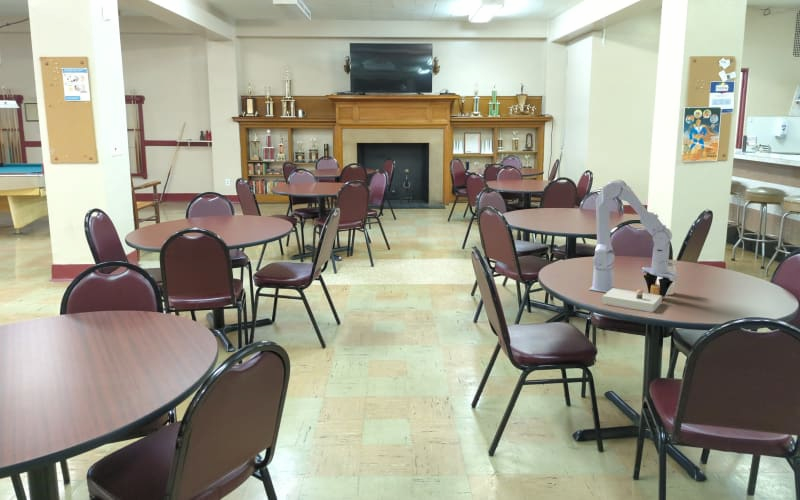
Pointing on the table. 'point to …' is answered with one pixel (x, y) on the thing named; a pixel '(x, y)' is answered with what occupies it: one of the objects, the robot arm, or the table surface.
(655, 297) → the junction box
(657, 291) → the cap
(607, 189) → the robot arm
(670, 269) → the can
